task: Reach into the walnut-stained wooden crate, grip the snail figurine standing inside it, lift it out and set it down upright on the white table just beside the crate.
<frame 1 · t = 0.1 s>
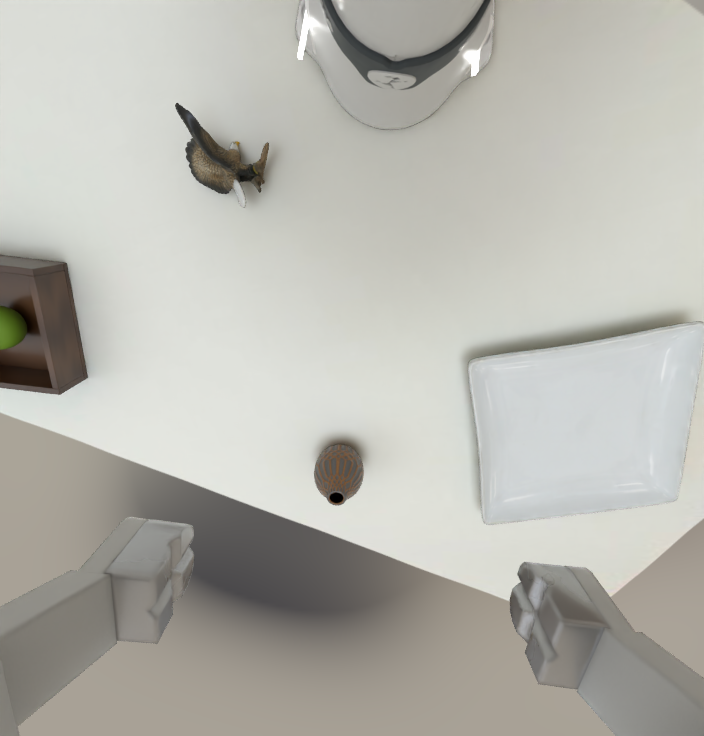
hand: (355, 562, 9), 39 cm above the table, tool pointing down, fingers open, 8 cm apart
square plate: (566, 422, 52), on the table
crate: (17, 316, 48), on the table
snail figurine: (15, 317, 48), resting on crate
eagle figurine: (231, 162, 40), on the table
vase: (340, 455, 55), on the table
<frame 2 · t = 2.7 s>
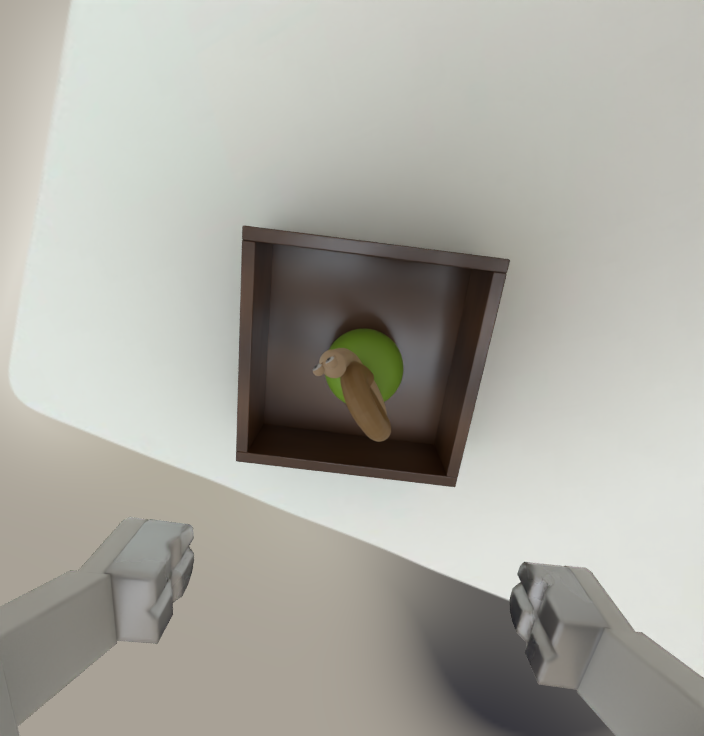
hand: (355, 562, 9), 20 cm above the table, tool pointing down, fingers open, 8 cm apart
crate: (360, 349, 28), on the table
snail figurine: (360, 351, 28), resting on crate
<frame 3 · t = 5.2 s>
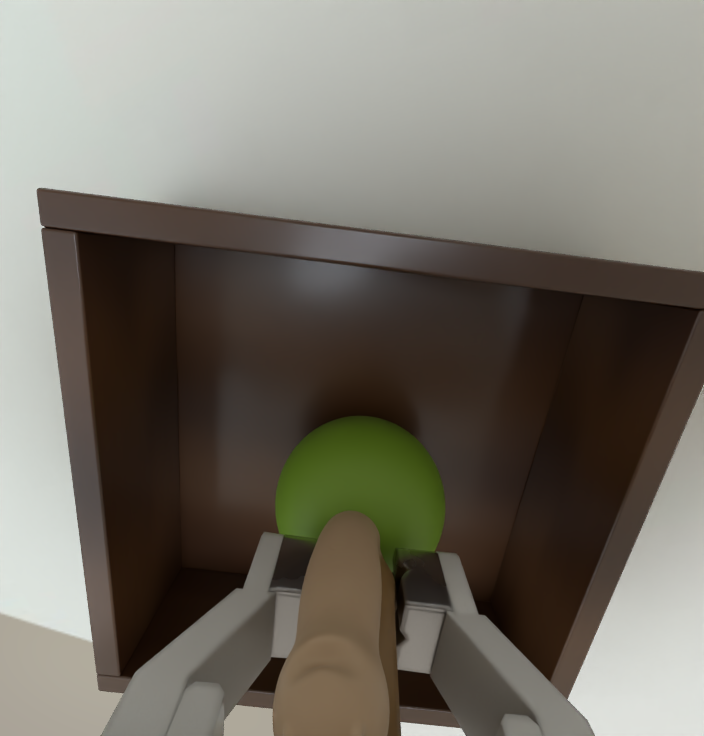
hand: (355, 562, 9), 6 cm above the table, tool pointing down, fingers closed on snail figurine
crate: (356, 440, 15), on the table
snail figurine: (358, 442, 15), resting on crate, touching gripper
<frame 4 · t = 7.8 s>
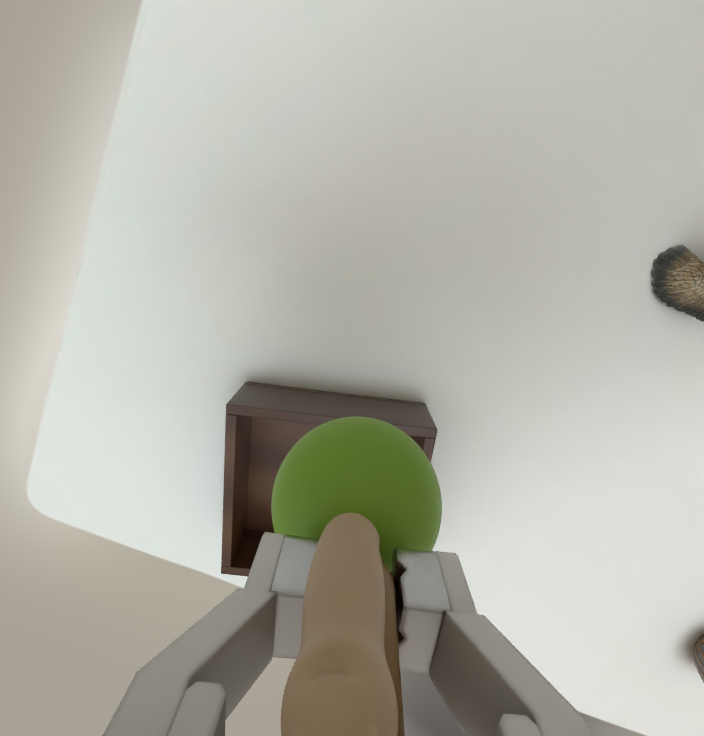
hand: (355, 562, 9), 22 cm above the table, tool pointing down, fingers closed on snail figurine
crate: (326, 470, 34), on the table
snail figurine: (353, 442, 15), point 17 cm above the table, touching gripper
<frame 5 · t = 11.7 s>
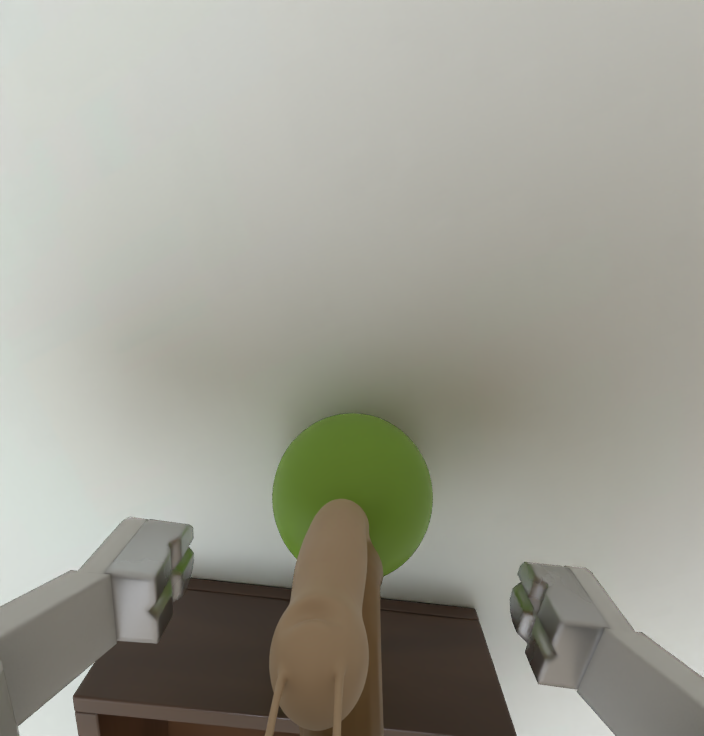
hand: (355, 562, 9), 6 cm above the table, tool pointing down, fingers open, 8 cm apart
crate: (302, 701, 20), on the table
snail figurine: (352, 438, 15), on the table
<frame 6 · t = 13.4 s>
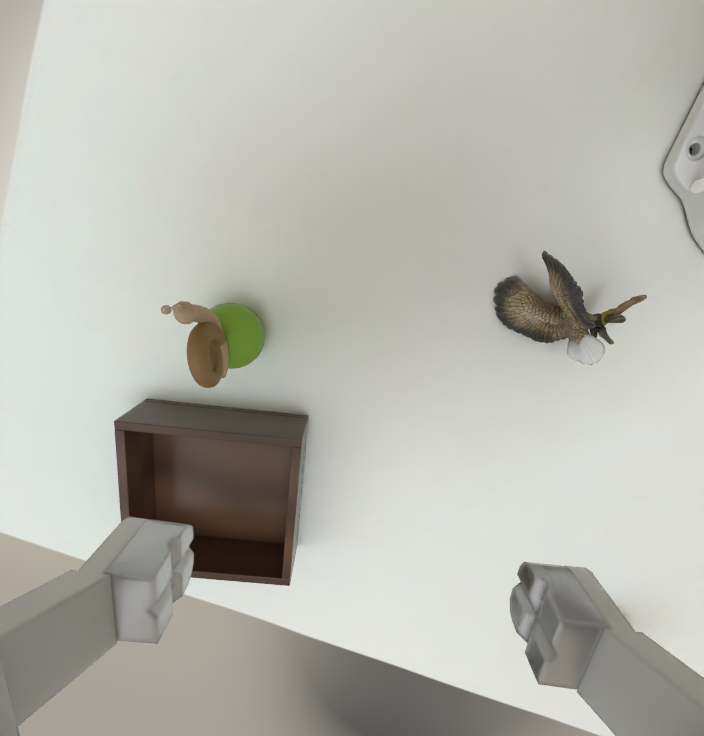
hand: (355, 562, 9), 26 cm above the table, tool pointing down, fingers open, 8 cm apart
crate: (226, 477, 38), on the table
snail figurine: (240, 324, 34), on the table
eagle figurine: (544, 303, 33), on the table
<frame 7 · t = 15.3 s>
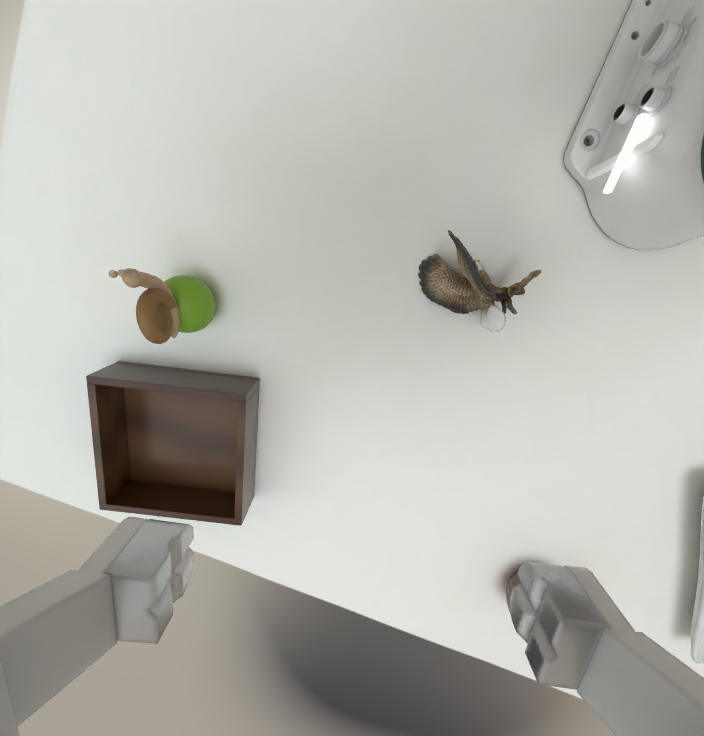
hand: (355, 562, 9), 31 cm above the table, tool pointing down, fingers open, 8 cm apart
crate: (190, 432, 43), on the table
snail figurine: (197, 295, 38), on the table
eagle figurine: (464, 279, 37), on the table
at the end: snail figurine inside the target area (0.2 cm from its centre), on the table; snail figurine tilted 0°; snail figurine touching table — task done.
